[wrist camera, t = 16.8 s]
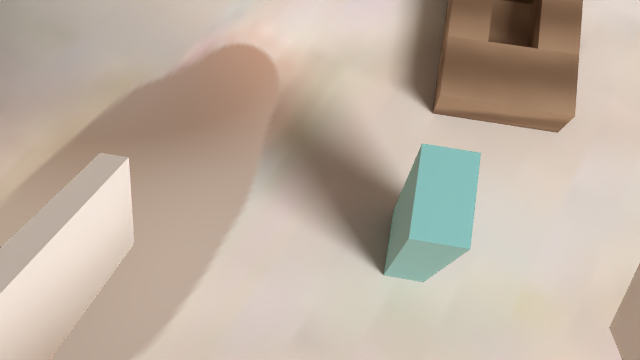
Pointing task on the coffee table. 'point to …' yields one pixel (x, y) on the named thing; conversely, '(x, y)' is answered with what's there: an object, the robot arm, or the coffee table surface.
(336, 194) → the coffee table surface
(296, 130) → the coffee table surface
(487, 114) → the walnut box
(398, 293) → the coffee table surface
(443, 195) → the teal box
